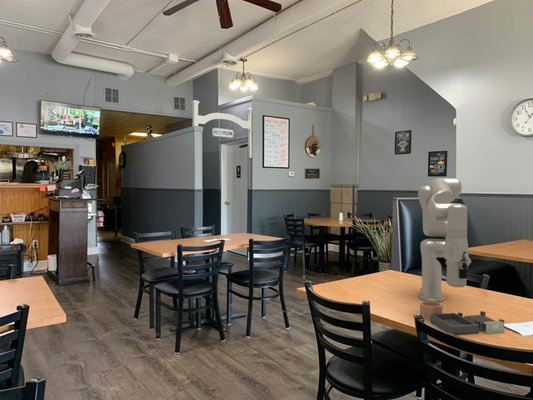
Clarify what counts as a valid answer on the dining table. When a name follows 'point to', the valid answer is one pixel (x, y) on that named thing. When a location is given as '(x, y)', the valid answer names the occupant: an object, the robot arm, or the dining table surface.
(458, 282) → the gray cylinder
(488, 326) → the cradle base
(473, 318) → the cradle plate
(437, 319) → the dark grey tray
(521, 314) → the dining table surface
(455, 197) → the robot arm
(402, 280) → the dining table surface
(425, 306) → the cup
